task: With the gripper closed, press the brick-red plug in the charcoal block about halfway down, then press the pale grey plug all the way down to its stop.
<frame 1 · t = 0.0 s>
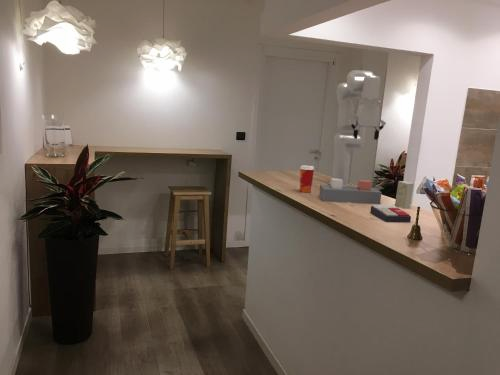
hand: (365, 138, 200), 31 cm above the counter, tool pointing down, fingers open, 9 cm apart
red plug: (364, 187, 208), point 7 cm above the counter, slide at 0.0 cm
grey plug: (336, 186, 208), point 7 cm above the counter, slide at 0.0 cm
plug block: (348, 200, 209), on the counter
paper cup: (305, 192, 224), on the counter
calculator: (389, 218, 178), on the counter
skincare box: (402, 207, 201), on the counter
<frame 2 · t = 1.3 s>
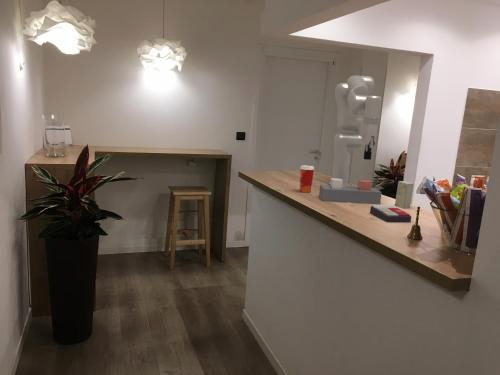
hand: (367, 159, 205), 21 cm above the counter, tool pointing down, fingers closed
nothing on the counter moved.
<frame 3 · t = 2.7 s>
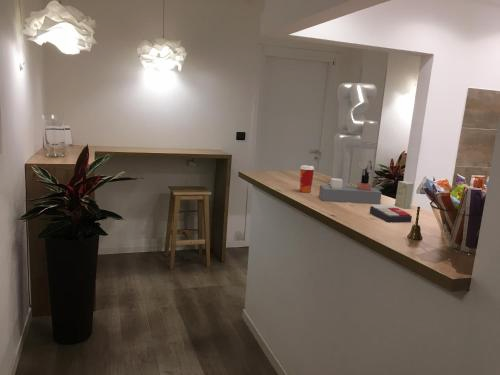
hand: (364, 183, 207), 9 cm above the counter, tool pointing down, fingers closed
red plug: (363, 189, 208), point 6 cm above the counter, slide at 1.1 cm, touching gripper
everything else where it was.
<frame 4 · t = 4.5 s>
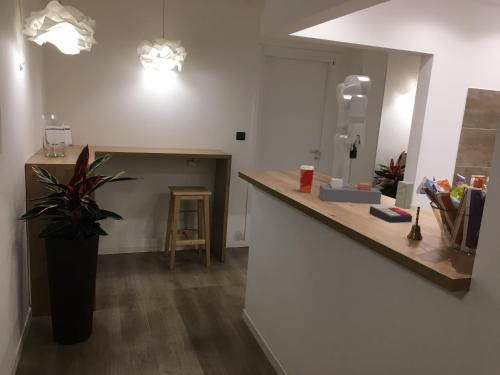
hand: (352, 158, 205), 21 cm above the counter, tool pointing down, fingers closed
red plug: (363, 190, 208), point 5 cm above the counter, slide at 1.5 cm
everything else where it was.
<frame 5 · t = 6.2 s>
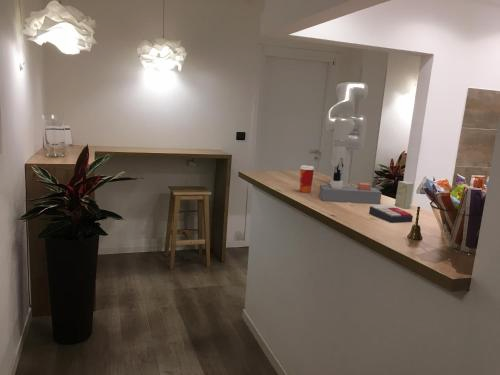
hand: (336, 180, 207), 10 cm above the counter, tool pointing down, fingers closed
grey plug: (336, 187, 208), point 6 cm above the counter, slide at 0.6 cm, touching gripper
everything else where it was.
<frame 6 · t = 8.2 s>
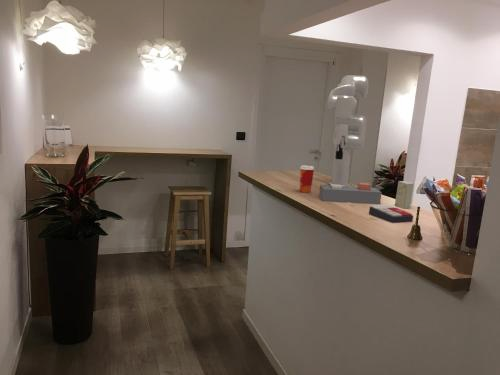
hand: (338, 159, 206), 20 cm above the counter, tool pointing down, fingers closed
grey plug: (335, 192, 208), point 4 cm above the counter, slide at 3.0 cm
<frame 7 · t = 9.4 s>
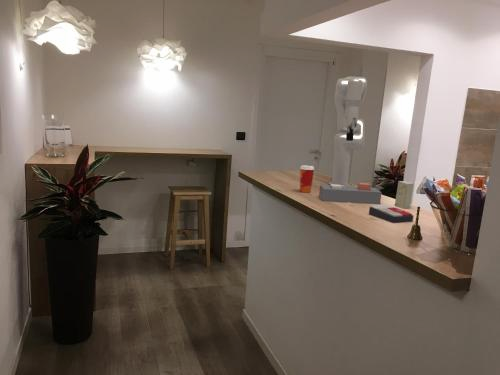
hand: (349, 140, 215), 29 cm above the counter, tool pointing down, fingers closed
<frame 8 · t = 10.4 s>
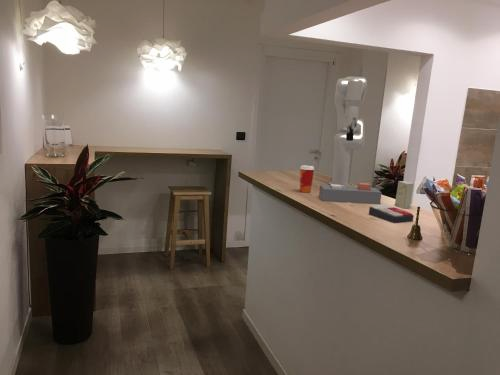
hand: (349, 140, 215), 29 cm above the counter, tool pointing down, fingers closed
at the end: red plug slide at 1.5 cm; grey plug slide at 3.0 cm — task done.
